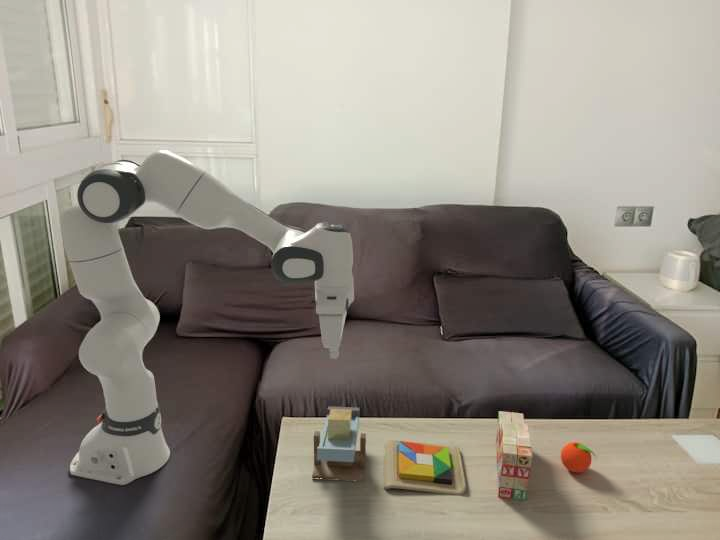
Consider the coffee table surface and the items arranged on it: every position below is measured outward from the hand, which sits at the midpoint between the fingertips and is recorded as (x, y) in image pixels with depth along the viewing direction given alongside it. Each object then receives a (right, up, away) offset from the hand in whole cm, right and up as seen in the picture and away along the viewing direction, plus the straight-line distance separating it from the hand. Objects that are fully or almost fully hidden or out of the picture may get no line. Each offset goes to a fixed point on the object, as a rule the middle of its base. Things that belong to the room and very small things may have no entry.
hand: (336, 347), depth 134 cm
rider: (+1, -20, 0) cm, 20 cm away
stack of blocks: (+42, -30, +3) cm, 51 cm away
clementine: (+58, -30, +3) cm, 65 cm away
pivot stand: (+1, -29, +3) cm, 29 cm away
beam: (+1, -22, +1) cm, 22 cm away
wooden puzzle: (+21, -30, +4) cm, 37 cm away
